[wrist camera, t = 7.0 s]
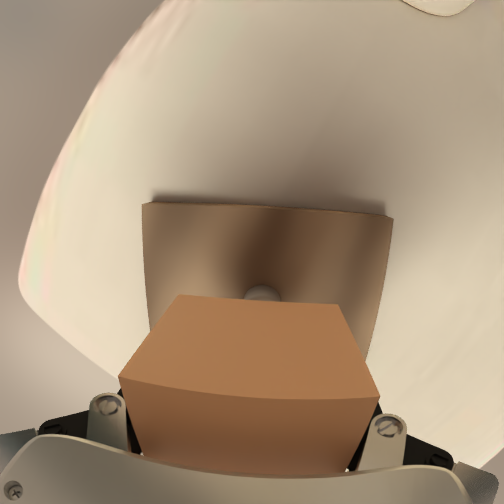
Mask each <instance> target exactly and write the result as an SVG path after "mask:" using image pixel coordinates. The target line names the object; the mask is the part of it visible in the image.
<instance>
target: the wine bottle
mask: <svg viewBox="0 0 504 504" xmlns="http://www.w3.org/2000/svg"><path fill="white" fill-rule="evenodd" d="M403 1H404V2H406V3H408V4H409V5H411V6H413V7H415V8H417V9H419V10H422V11H424V12H427V13H430V14H434V15H439V16H451V15H454V14H458V13H460V12H461V11H462V10H463V9H465V8H466V7H467V6H469V5H470V4H471V3H473V2H474V1H475V0H403Z"/></svg>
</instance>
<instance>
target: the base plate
mask: <svg viewBox="0 0 504 504" xmlns="http://www.w3.org/2000/svg"><path fill="white" fill-rule="evenodd" d="M392 227H393V218H390V217H387V216H384V215H374V214H365V213H354V212H343V211H332V210H320V209H306V208H292V207H277V206H259V205H239V204H214V203H178V202H149V203H145V204H142V235H143V257H144V273H145V286H146V297H147V307H148V317H149V325H150V331H151V330H152V329H153V327H154V326H155V325H156V323H157V322H158V321H159V319H160V318H161V317H162V315H163V314H164V313H165V311H166V310H167V309H168V307H169V306H170V305H171V303H172V302H173V301H174V300H175V298H176V297H177V296H178V294H183V295H194V296H205V297H217V298H230V299H243V300H258V301H275V302H294V303H317V304H338V306H339V308H340V310H341V312H342V314H343V316H344V318H345V320H346V322H347V324H348V326H349V328H350V330H351V333H352V335H353V337H354V339H355V341H356V343H357V345H358V347H359V350H360V352H361V354H362V356H363V358H364V361H365V360H366V357H367V353H368V349H369V346H370V342H371V338H372V334H373V330H374V326H375V322H376V318H377V313H378V309H379V304H380V300H381V295H382V290H383V285H384V279H385V274H386V268H387V262H388V256H389V249H390V243H391V235H392Z"/></svg>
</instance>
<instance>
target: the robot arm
mask: <svg viewBox="0 0 504 504" xmlns="http://www.w3.org/2000/svg"><path fill="white" fill-rule="evenodd" d="M406 433H407V426H406V423H405V422H404V420H402V419H401V418H400V417H398V416H397V415H393V414H383V413H382V410H381V408H380V405H379V403H377V406H376V408H375V410H374V413H373V415H372V417H371V420H370V422H369V424H368V426H367V429H366V431H365V433H364V435H363V437H362V439H361V441H360V443H359V445H358V447H357V449H356V451H355V453H354V455H353V457H352V459H351V461H350V463H349V465H348V467H347V469H348V470H347V472H340V473H327V474H305V475H277V474H254V473H240V472H230V471H221V470H213V469H206V468H199V467H193V466H187V465H182V464H177V463H172V462H167V461H163V460H158V459H154V458H150V457H146V456H143V454H142V450H141V447H140V445H139V442H138V439H137V437H136V434H135V431H134V428H133V425H132V422H131V419H130V416H129V413H128V410H127V407H126V403H125V400H124V397H123V393H122V390H121V389H120V390H119V392H118V393H117V394H114V393H102V394H100V395H97V396H96V397H94V398H93V400H92V401H91V402H90V406H89V410H87V411H83V412H80V413H76V414H72V415H68V416H63V417H59V418H55V419H51V420H48V421H46V422H44V423H43V424H42V425H41V426H40V428H39V430H37V431H36V430H35V428H32V429H27V430H22V431H17V432H12V433H6V434H1V435H0V504H493V501H494V498H495V495H496V493H497V490H498V485H499V482H498V479H497V478H496V477H495V475H493V474H491V473H488V472H486V471H483V470H480V469H477V468H475V467H472V466H469V465H467V464H464V463H462V462H458V463H457V464H456V463H454V461H453V458H452V456H451V455H450V454H449V453H448V452H447V451H445V450H443V449H440V448H438V447H435V446H433V445H431V444H428V443H426V442H424V441H421V440H419V439H417V438H415V437H412V436H410V435H408V434H406Z"/></svg>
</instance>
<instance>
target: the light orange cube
mask: <svg viewBox="0 0 504 504" xmlns="http://www.w3.org/2000/svg"><path fill="white" fill-rule="evenodd" d="M118 379H119V382H120V386H121V390H122V393H123V397H124V400H125V403H126V407H127V410H128V413H129V416H130V419H131V422H132V425H133V428H134V431H135V434H136V437H137V439H138V442H139V445H140V447H141V450H142V453H143V455H144V456H146V457H150V458H154V459H158V460H163V461H167V462H172V463H177V464H182V465H187V466H193V467H199V468H206V469H213V470H221V471H230V472H240V473H254V474H277V475H305V474H327V473H340V472H345V470H346V468H347V467H348V465H349V463H350V461H351V459H352V457H353V455H354V453H355V451H356V449H357V447H358V445H359V443H360V441H361V439H362V437H363V435H364V433H365V431H366V429H367V426H368V424H369V422H370V420H371V417H372V415H373V413H374V410H375V408H376V406H377V403H378V401H379V398H380V394H379V392H378V390H377V387H376V385H375V383H374V381H373V378H372V376H371V374H370V372H369V369H368V367H367V365H366V363H365V361H364V358H363V356H362V354H361V352H360V350H359V347H358V345H357V343H356V341H355V339H354V337H353V335H352V333H351V330H350V328H349V326H348V324H347V322H346V320H345V318H344V316H343V314H342V312H341V310H340V308H339V306H338V304H317V303H294V302H275V301H258V300H243V299H230V298H217V297H205V296H194V295H183V294H178V296H177V297H176V298H175V300H174V301H173V302H172V303H171V305H170V306H169V307H168V309H167V310H166V311H165V313H164V314H163V315H162V317H161V318H160V319H159V321H158V322H157V323H156V325H155V326H154V327H153V329H152V330H151V331H150V333H149V334H148V336H147V337H146V338H145V340H144V341H143V342H142V344H141V345H140V346H139V348H138V349H137V350H136V352H135V353H134V355H133V356H132V357H131V359H130V360H129V361H128V363H127V364H126V366H125V367H124V368H123V370H122V371H121V373H120V374H119V375H118Z"/></svg>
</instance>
